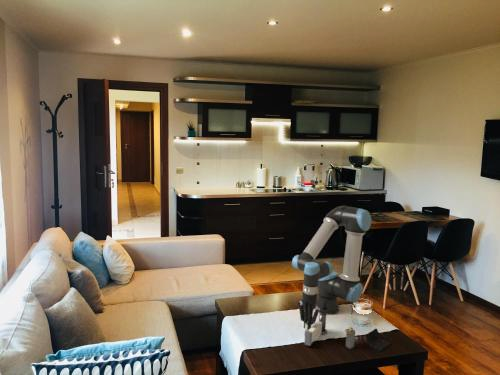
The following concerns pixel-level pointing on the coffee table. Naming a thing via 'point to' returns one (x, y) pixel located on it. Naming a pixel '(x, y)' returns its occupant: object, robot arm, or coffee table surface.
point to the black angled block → (376, 340)
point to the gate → (313, 333)
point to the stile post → (350, 337)
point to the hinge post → (323, 323)
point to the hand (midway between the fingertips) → (306, 334)
